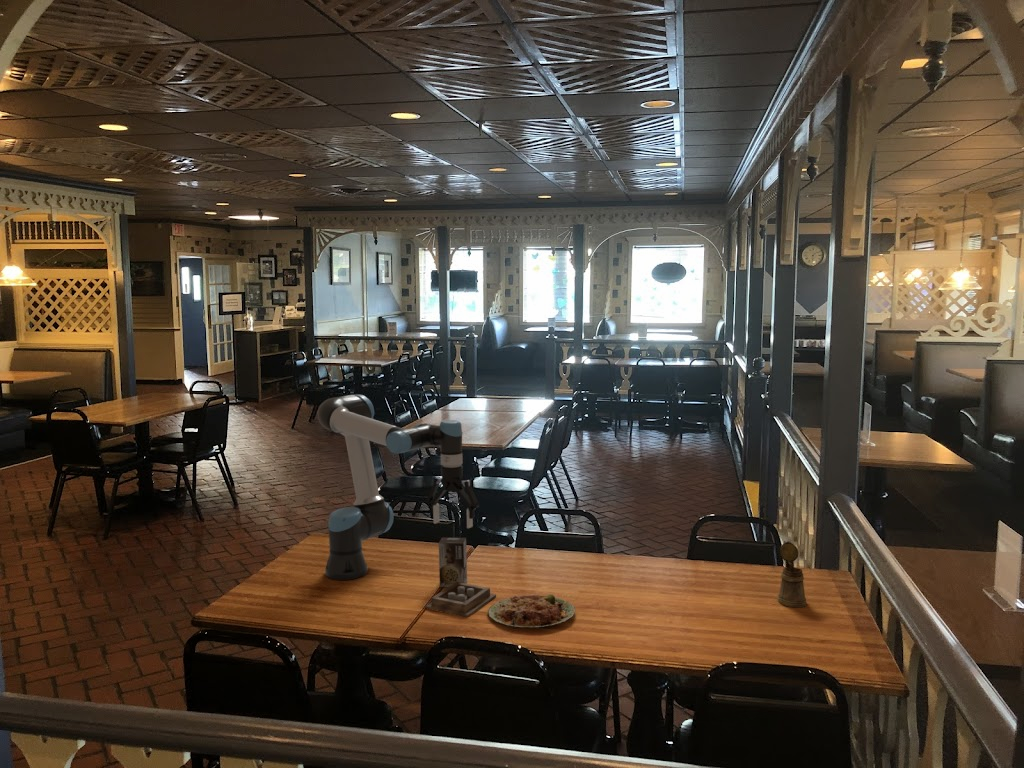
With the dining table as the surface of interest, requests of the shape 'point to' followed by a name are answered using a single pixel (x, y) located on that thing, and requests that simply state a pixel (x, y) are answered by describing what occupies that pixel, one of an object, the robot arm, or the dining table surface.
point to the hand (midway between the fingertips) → (453, 525)
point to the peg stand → (461, 599)
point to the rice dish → (531, 611)
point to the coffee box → (452, 561)
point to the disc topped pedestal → (791, 578)
